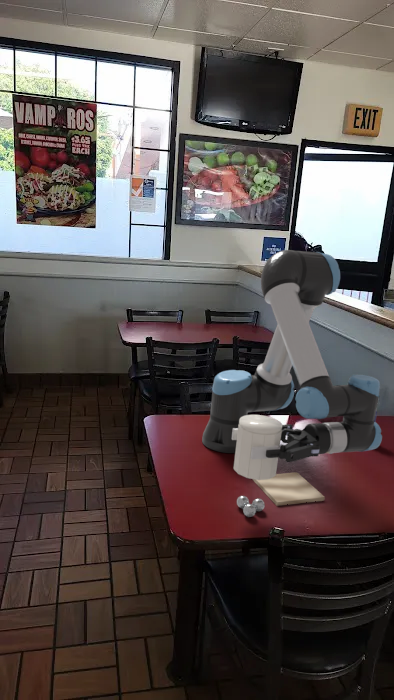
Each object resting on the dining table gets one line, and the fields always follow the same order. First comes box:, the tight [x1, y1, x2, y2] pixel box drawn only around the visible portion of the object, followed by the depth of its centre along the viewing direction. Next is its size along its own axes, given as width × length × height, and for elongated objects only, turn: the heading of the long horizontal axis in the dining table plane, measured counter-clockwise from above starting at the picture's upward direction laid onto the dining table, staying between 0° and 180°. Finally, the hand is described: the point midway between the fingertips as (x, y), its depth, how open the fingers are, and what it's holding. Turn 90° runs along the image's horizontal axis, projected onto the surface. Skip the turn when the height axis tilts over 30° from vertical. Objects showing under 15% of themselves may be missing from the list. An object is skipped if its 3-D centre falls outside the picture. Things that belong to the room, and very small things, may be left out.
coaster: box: [252, 471, 326, 507], centre depth 134 cm, size 14×14×1 cm
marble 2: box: [242, 503, 257, 518], centre depth 119 cm, size 3×3×3 cm
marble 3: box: [251, 497, 265, 512], centre depth 122 cm, size 3×3×3 cm
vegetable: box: [317, 416, 343, 423], centre depth 192 cm, size 10×10×15 cm
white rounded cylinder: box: [233, 414, 283, 480], centre depth 118 cm, size 10×10×12 cm
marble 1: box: [236, 495, 250, 510], centre depth 123 cm, size 3×3×3 cm
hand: (241, 443), depth 116 cm, fingers closed on white rounded cylinder, 10 cm apart
